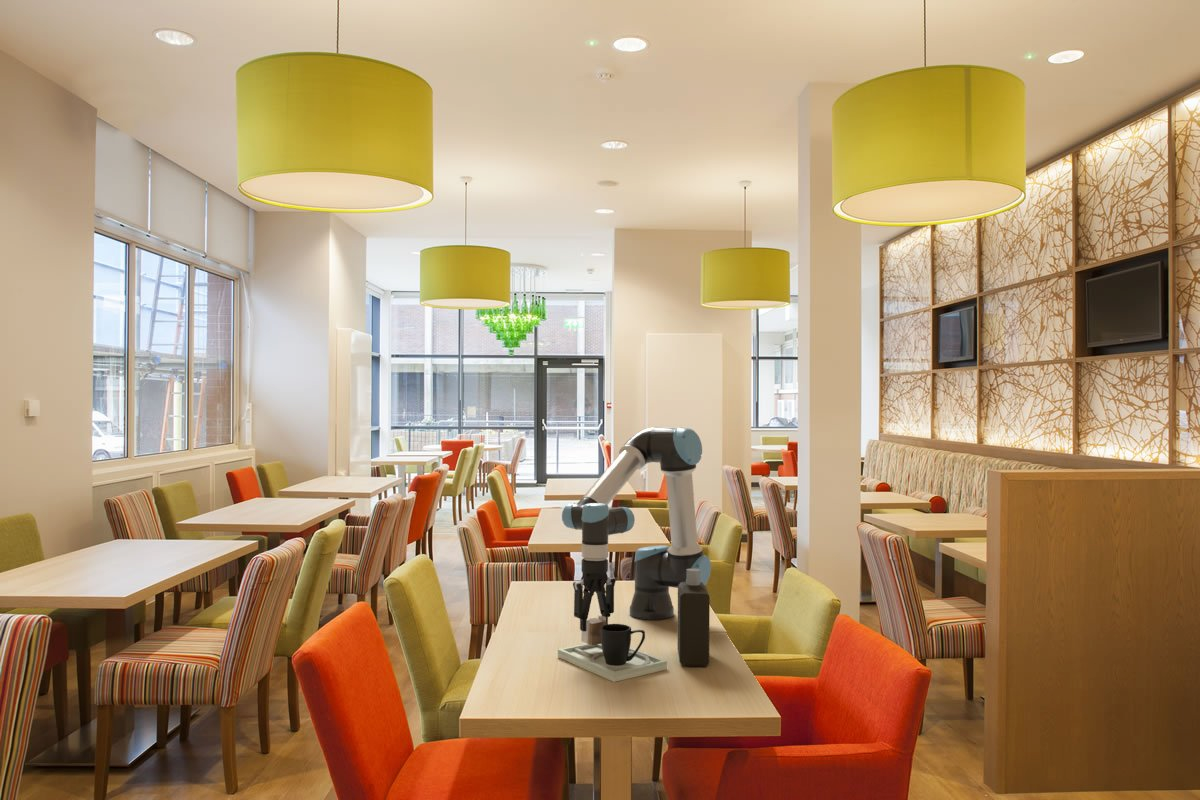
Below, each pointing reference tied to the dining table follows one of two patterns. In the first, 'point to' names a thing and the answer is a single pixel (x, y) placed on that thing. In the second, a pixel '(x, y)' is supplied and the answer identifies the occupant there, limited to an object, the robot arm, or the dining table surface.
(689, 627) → the bottle
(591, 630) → the block
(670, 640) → the dining table surface
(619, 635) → the mug
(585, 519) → the robot arm
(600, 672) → the tray
